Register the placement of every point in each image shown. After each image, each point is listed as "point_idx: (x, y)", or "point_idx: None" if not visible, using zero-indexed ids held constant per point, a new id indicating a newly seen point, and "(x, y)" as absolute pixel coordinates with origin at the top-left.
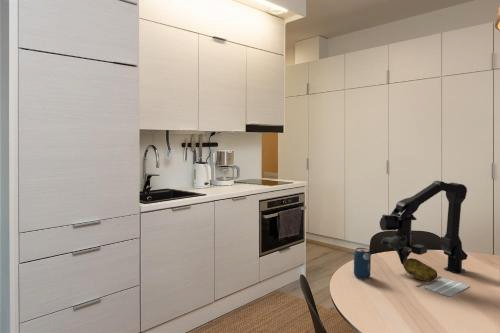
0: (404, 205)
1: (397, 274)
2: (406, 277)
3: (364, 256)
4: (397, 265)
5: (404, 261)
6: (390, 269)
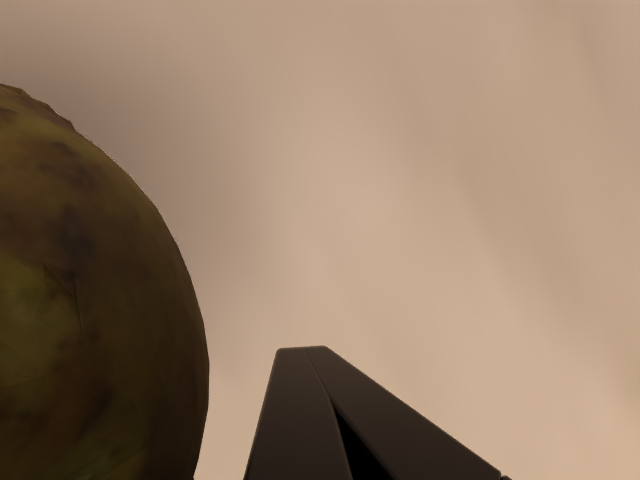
0: None
1: (285, 99)
2: (36, 90)
3: None
4: None
5: (68, 285)
6: (508, 237)
